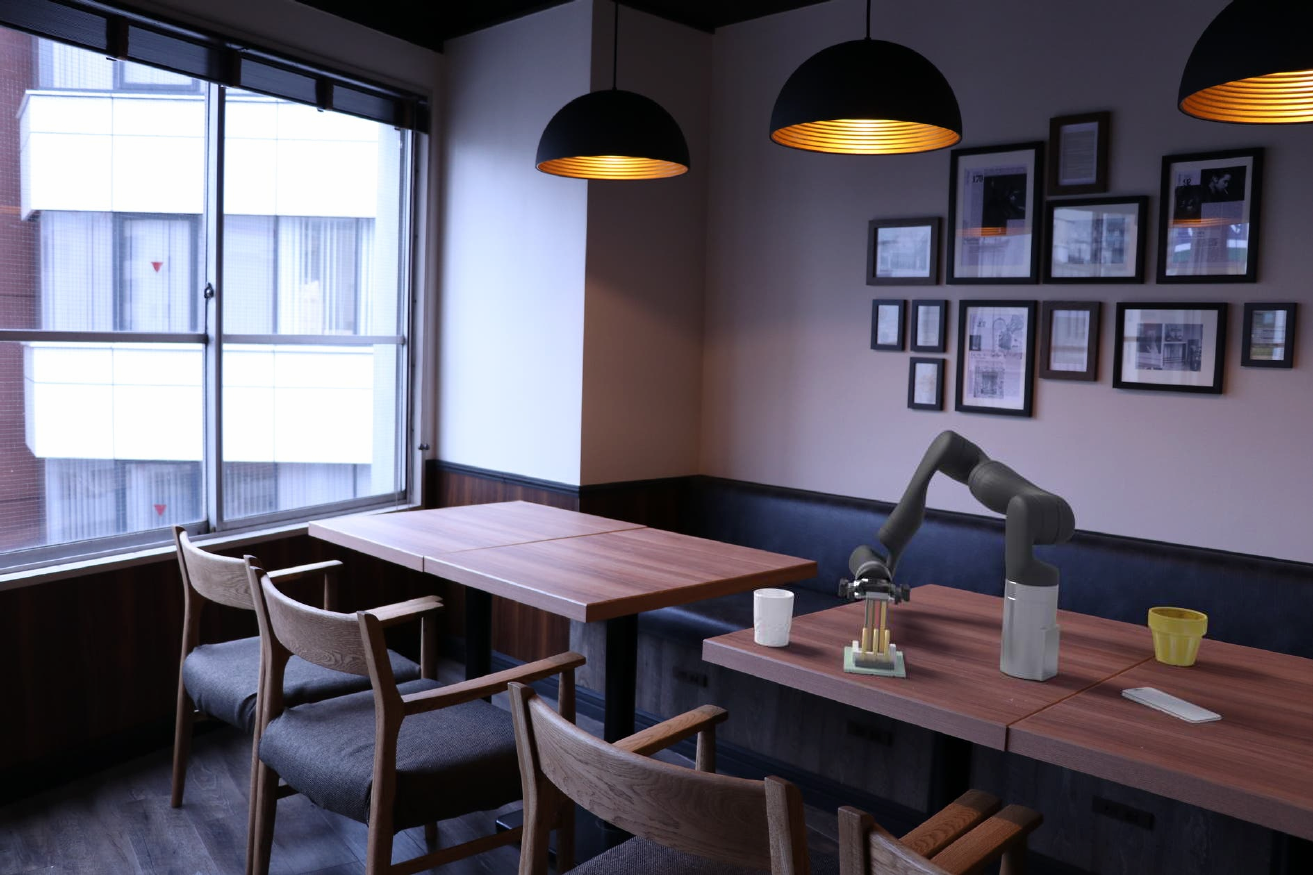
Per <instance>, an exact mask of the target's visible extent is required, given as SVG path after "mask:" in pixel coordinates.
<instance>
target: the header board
mask: <svg viewBox="0 0 1313 875" xmlns="http://www.w3.org/2000/svg"><path fill="white" fill-rule="evenodd" d="M867 630H868V629H867V628H864V627H863V628H862V643H861V644H862V645H861V647H859V641H858V640H853V641H852V646H844V653H843V655H844V656H843V673H850V672H851V673H852V674H853V673H854V674H863V675H871V674H873V675H874V676H883V677H893V676H895V677H896V678H903V677H904V679H905V678H906V677H907V676H906V675H907V674H906V668H905V662H904V657H903V656H904V655H903V651H897V647H896V644H895V643H890V637H891V635H890V634H891V632H890V630H889V629H887V630H885V646H884V653H877V650H878V633H879V630H878V629H874V642H873V652H866V648H867ZM851 673H850V674H851ZM873 675H872V676H873ZM895 677H894V678H895Z"/></svg>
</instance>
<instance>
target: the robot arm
mask: <svg viewBox="0 0 1313 875" xmlns="http://www.w3.org/2000/svg"><path fill="white" fill-rule="evenodd" d="M937 471H938V472H940V473H942V474H943V475H945V476H947V477H948V478H950V479H951V480H954V481H956V482H958V483H961V484H963V485H965V486H967V487H968V489H969V492H970V494H971V496H973V497H974V498H975V500H976V501H977V502H978V503H980V504H981V505H982V506H984V507H985V508H987V509H988V510H990V511H992V512H994V513H997V514H1001V516H1005V552H1004V556H1005V557H1004V561H1005V562H1004V563H1005V572H1006V573H1005V587H1004V599H1003V600H1004V601H1003V602H1004V603H1003V616H1002V617H1003V618H1002V632H1001V646H1000V658H999V660H1000V661H999V662H1000V663H999V670H1000V671H1001V672H1002V673H1004V674H1007V675H1008V676H1011V677H1015V678H1020V679H1025V680H1026V679H1027V680H1036V681H1041V682H1043V681H1047V680H1048V679H1051V678H1053V677H1055V676H1057V675H1058V666H1059V665H1058V664H1059V663H1058V662H1059V650H1060V649H1059V648H1060V636H1061V625H1060V624H1059V623H1057V612H1058V599H1059V584H1060V571H1059V569H1058V568H1057V567H1056V566H1054V565H1051V564H1049V563H1047V562H1044V561H1042V560H1040V559H1039V558H1037V557H1036V556H1035V554H1034V546H1057V545H1062V544H1065V543H1066V542H1067V541H1069V540H1070V539H1071V538H1072V536H1073V535H1074V532H1075V529H1076V519H1075V514H1074V511H1073V509H1072V507H1071V505H1070V504H1069V503H1068V501H1066V499H1064V498H1063V497H1061V496H1059V495H1058V494H1054V493H1052V492H1050V491H1048V490H1045V489H1043V488H1041V487H1039V486H1037V485H1036V484H1035V483H1033V482H1031V481H1030V480H1029V479H1027V478H1025V477H1024V476H1022V475H1021V474H1019V473H1018V472H1016V471H1015V470H1014V469H1012V468H1011V467H1010V466H1008V465H1007V464H1005V463H1003V462H1000V461H998V460H994V459H991V458H990V457H989V456H988V455H987V454H986V452H985V451H983V449H981V447H979V446H978V445H977V444H976V443H974V442H972V441H970V440H969V439H967V438H966V437H964V436H962V435H961V434H960V433H957V432H955V431H954V430H951V429H946V430H944V431H942V432H941V433H939V434H938V435H937V436H936V437H935V438H934V439H933V441H932V442H931V443H930V445H929V446H928V447H927V450H926V451H925V453H924V455H923V456H922V459H921V461H920V462H919V465H918V467H917V468H916V470H915V472H914V474H913V476H912V478H911V480H910V481H909V484H908V486H907V487H906V489H905V491H904V493H903V495H902V497H901V498H900V500H899V502H898V504H897V505H896V506H895V508H894V509H893V511H892V512H891V513H890V515H889V516H888V518H887V519H886V520H885V521H884V523H883V525H882V526H881V527H880V529H878V532H877V535H876V537H877V539H878V541H879V542H880V543H881V545H883V547H885V548H886V550H887V552H888V553H889V554H888V556H887V557H886V556H885V555H883V554H882V553H881V552H879V551H878V550H876V549H875V548H874V547H872V546H869V545H864V544H863V545H860V546H858V547H856V548H855V549H854V550H853V551H852V553H851V555H850V557H849V562H848V568H849V570H850V572H851V573H852V574H853V576H855V580H854V581H853V582H849V580H847V578H841V579H840V580H839V584H838V596H840V597H845V596H846V595H847V599H849V600H850V602H855V598H856V599H862V600H863V601H865V602H866V592H876V593H888V598H889V602H893V603H894V605H895V606H898V605H899V604H901V603H902V602H906V603H908V602H910V601H911V589H912V588H910V586H909V584H908V583H905V582H904V583H902V584H899V585H900V586H896V585H895V584H894V583H893V582H892V580H893V579H894V575H895V574H896V571H897V566H898V564H899V561H900V559H901V557H902V555H903V553H904V551H905V549H906V548H907V547H908V546H909V543H910V542H911V541H912V540H913V539H914V537H915V535H916V534H917V533H918V532H919V530H920V528H921V526H922V524H923V522H924V519H925V516H926V507H927V504H926V502H927V494H928V488H929V485H930V483H931V480H932V479H933V477H934V476H935V474H936V473H937ZM902 600H903V601H902Z"/></svg>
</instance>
